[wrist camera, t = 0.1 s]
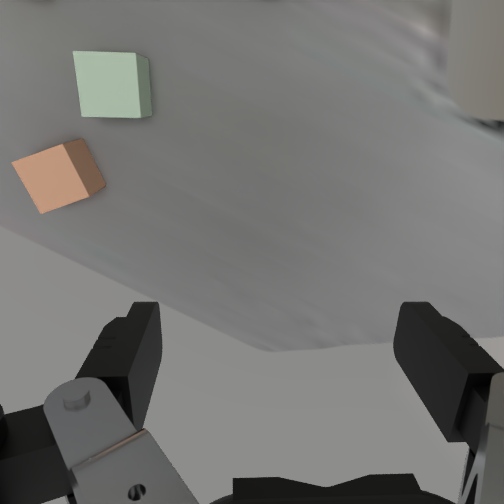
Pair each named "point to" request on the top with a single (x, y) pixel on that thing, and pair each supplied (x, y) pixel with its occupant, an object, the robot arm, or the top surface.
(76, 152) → the terracotta block
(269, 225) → the top surface
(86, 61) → the sage block
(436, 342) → the robot arm
